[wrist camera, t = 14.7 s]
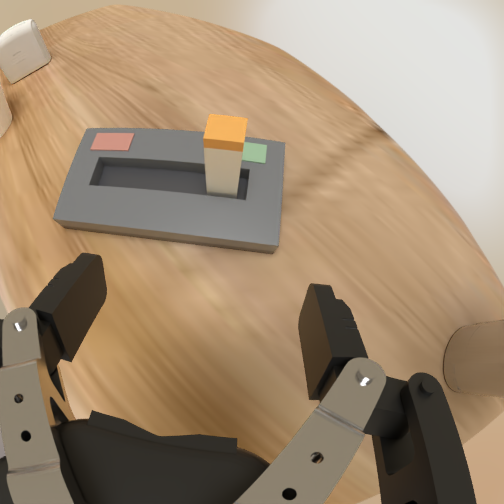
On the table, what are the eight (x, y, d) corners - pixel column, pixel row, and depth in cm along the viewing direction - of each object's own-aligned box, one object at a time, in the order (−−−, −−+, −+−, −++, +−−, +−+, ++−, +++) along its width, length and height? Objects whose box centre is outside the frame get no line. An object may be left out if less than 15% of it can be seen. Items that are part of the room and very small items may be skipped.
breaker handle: (238, 180, 31) (247, 118, 21) (236, 201, 30) (244, 142, 20) (211, 177, 30) (209, 113, 21) (207, 197, 30) (203, 138, 20)
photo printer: (9, 87, 34) (-15, 48, 22) (12, 76, 34) (-9, 38, 23) (50, 64, 36) (30, 19, 24) (52, 54, 36) (35, 11, 25)
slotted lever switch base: (280, 157, 33) (285, 141, 30) (272, 254, 30) (278, 245, 27) (94, 142, 32) (86, 127, 29) (64, 228, 28) (52, 218, 25)
